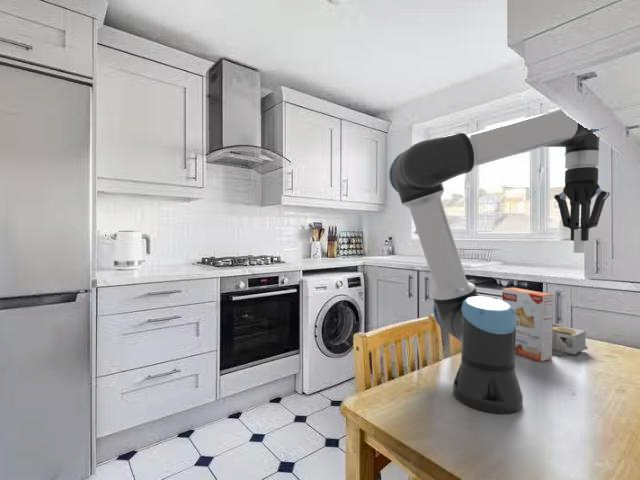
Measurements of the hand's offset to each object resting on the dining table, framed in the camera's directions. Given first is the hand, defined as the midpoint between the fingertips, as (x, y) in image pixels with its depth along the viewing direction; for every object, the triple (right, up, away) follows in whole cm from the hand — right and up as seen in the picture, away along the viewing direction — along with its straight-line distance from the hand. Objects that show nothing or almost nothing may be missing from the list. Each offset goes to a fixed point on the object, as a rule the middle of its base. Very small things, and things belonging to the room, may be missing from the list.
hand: (579, 252), depth 100 cm
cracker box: (-6, -34, +16) cm, 38 cm away
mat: (+8, -34, +24) cm, 42 cm away
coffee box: (+13, -30, +16) cm, 37 cm away
